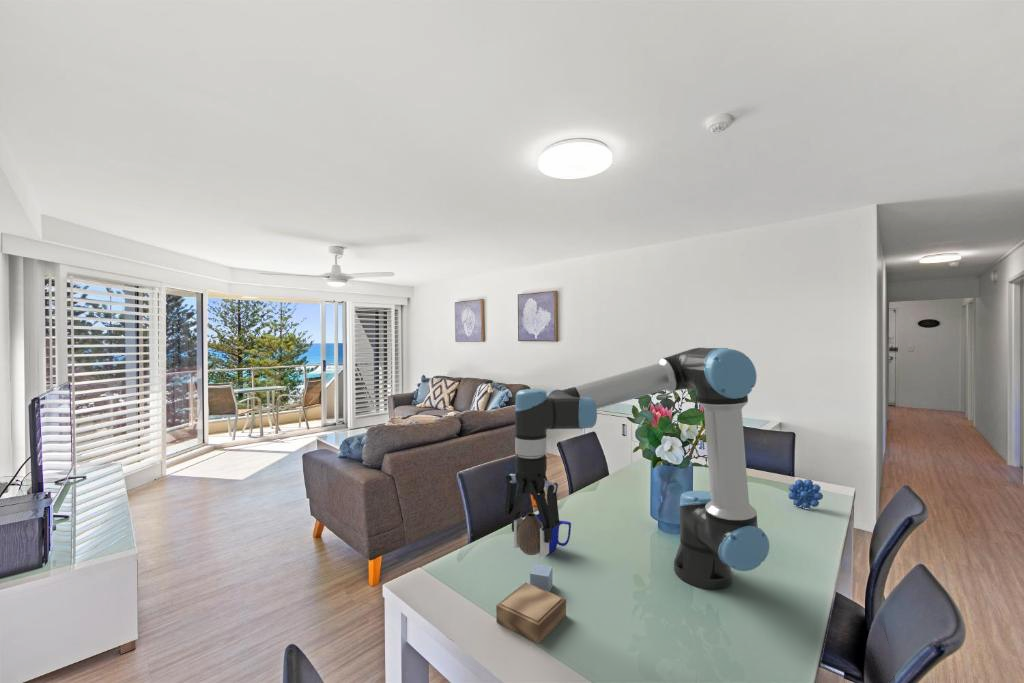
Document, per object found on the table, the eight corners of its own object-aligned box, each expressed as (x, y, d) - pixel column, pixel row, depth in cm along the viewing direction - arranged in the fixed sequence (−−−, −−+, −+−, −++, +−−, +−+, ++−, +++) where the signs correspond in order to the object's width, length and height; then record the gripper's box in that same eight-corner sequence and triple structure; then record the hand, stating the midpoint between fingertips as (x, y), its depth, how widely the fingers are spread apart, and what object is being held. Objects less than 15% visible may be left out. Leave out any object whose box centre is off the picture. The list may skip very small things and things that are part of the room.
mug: (570, 557, 131) (570, 525, 131) (531, 554, 134) (531, 522, 134) (571, 545, 139) (571, 514, 139) (535, 541, 142) (535, 511, 142)
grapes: (826, 510, 167) (826, 479, 167) (821, 515, 162) (821, 483, 162) (791, 502, 176) (791, 472, 176) (786, 506, 171) (786, 476, 171)
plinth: (566, 615, 104) (565, 597, 104) (538, 643, 94) (538, 624, 94) (525, 597, 111) (525, 581, 111) (496, 622, 101) (496, 604, 101)
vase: (515, 545, 106) (515, 509, 106) (543, 543, 106) (543, 508, 106) (518, 559, 99) (518, 521, 99) (548, 557, 99) (547, 520, 99)
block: (552, 585, 117) (552, 566, 117) (548, 595, 112) (548, 576, 112) (534, 582, 118) (534, 564, 118) (530, 592, 114) (530, 573, 114)
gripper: (575, 457, 100) (575, 556, 100) (507, 445, 112) (508, 533, 112) (558, 465, 94) (558, 570, 94) (489, 451, 106) (489, 544, 106)
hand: (531, 549), depth 103 cm, fingers closed on vase, 7 cm apart
